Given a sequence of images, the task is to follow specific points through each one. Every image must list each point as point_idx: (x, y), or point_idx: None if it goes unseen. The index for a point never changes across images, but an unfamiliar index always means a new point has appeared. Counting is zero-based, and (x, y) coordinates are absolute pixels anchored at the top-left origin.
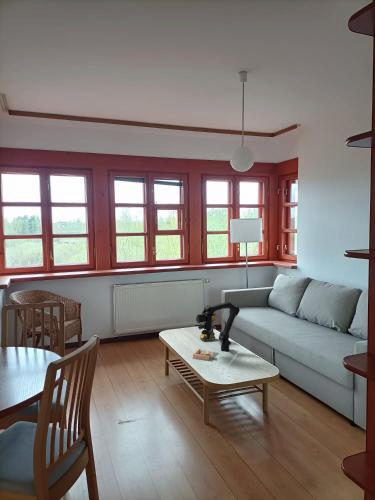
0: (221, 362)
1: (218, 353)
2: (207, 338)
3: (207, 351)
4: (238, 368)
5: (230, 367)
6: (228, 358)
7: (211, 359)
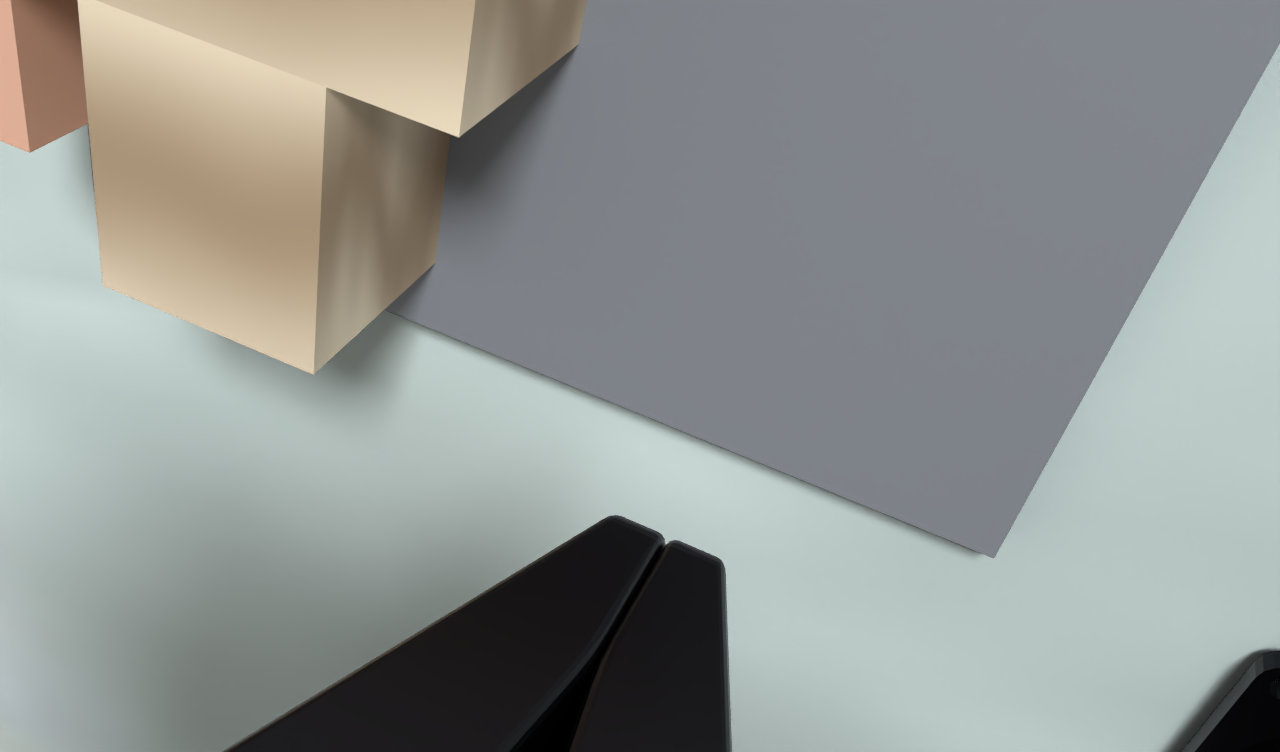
0: (201, 458)
1: (918, 515)
2: (465, 607)
3: (365, 90)
4: (49, 722)
5: (16, 595)
6: None
7: None
